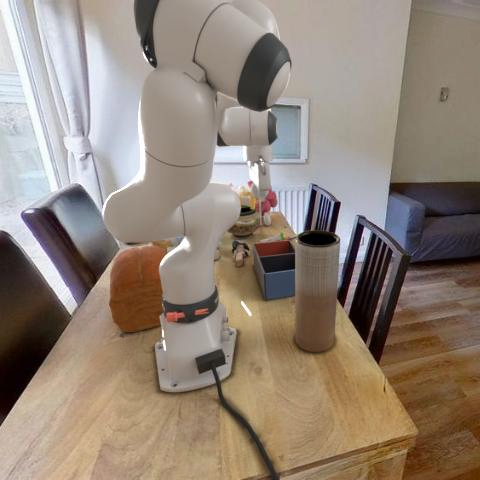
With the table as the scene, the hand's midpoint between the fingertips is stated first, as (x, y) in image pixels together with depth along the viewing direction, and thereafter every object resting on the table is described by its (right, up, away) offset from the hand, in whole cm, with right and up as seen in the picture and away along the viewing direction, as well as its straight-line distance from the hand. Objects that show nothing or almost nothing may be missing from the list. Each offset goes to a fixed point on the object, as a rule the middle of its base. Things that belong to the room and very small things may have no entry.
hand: (260, 198), depth 100 cm
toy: (-18, +3, +59) cm, 61 cm away
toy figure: (-11, -20, +21) cm, 32 cm away
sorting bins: (+5, -27, +7) cm, 28 cm away
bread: (-31, -32, -9) cm, 45 cm away
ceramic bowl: (-16, -11, +43) cm, 47 cm away
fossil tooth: (-27, -21, +18) cm, 39 cm away
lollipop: (0, -9, +3) cm, 9 cm away
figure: (-16, +2, +38) cm, 42 cm away
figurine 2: (-24, -12, +27) cm, 38 cm away
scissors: (+4, -13, +40) cm, 42 cm away
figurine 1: (-39, -15, +33) cm, 53 cm away
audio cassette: (-57, -14, +32) cm, 67 cm away
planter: (+18, -39, -21) cm, 48 cm away
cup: (-5, -16, +26) cm, 31 cm away
